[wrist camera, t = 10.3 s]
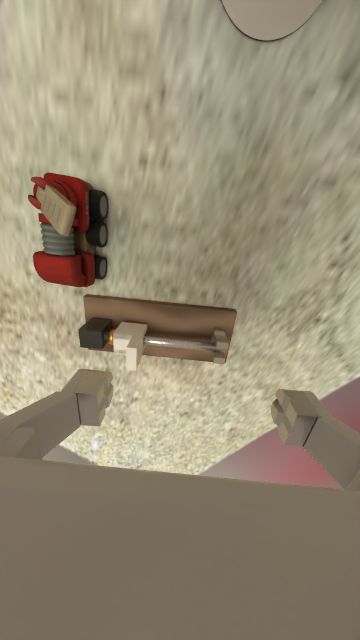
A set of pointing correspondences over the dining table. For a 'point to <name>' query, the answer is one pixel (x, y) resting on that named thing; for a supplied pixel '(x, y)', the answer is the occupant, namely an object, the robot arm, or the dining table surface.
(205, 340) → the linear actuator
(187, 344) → the rod
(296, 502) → the robot arm
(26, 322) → the dining table surface
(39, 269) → the toy fire truck
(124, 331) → the sleeve
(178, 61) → the dining table surface
